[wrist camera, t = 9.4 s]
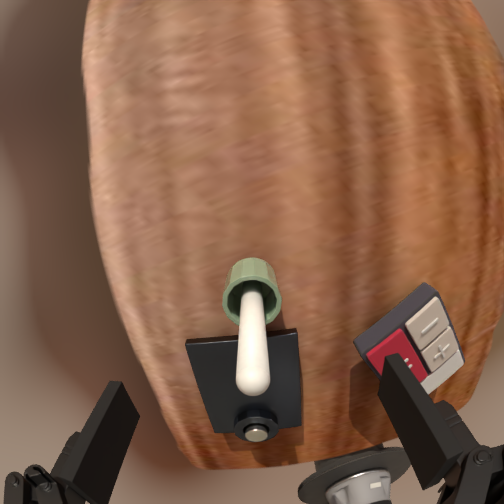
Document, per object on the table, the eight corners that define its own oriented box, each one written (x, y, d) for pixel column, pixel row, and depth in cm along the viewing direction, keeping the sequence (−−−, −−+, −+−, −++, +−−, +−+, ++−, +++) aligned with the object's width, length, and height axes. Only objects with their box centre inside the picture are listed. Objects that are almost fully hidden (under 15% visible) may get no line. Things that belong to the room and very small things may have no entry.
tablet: (300, 423, 33) (303, 436, 31) (216, 431, 34) (215, 443, 31) (296, 327, 29) (299, 340, 27) (186, 338, 29) (182, 351, 27)
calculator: (441, 291, 24) (468, 364, 26) (421, 278, 28) (453, 349, 31) (361, 358, 26) (406, 415, 28) (350, 337, 30) (396, 396, 33)
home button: (268, 433, 31) (268, 440, 30) (246, 435, 31) (246, 442, 30) (266, 421, 30) (266, 429, 29) (243, 423, 30) (243, 430, 29)
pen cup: (278, 299, 28) (284, 324, 23) (230, 305, 28) (227, 331, 23) (274, 254, 27) (279, 271, 22) (223, 260, 27) (217, 279, 22)
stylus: (262, 290, 27) (272, 400, 13) (243, 292, 27) (238, 403, 13) (260, 272, 27) (269, 376, 12) (241, 275, 27) (232, 379, 13)
